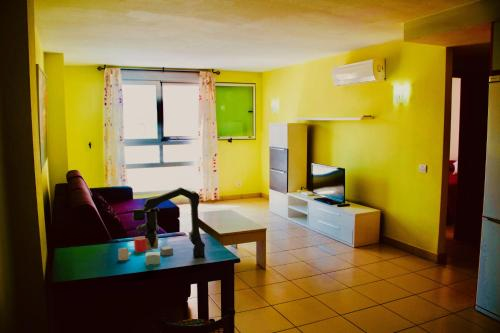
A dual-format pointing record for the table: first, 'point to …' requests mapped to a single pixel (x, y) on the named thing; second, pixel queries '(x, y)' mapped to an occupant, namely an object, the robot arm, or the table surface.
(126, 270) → the table surface
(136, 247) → the mug
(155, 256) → the plinth block
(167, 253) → the tan wooden block
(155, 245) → the walnut cube
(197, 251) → the robot arm
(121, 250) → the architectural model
